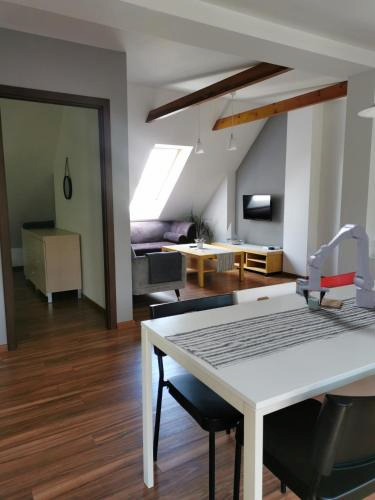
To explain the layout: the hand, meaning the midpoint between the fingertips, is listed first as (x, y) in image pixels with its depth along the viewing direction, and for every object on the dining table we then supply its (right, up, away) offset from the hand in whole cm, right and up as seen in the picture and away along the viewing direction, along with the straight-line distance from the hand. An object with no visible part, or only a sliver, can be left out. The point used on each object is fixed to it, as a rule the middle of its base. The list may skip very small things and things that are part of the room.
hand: (313, 304), depth 195 cm
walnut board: (+11, -1, +6) cm, 13 cm away
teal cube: (0, -2, 0) cm, 2 cm away
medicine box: (+3, +2, +28) cm, 28 cm away
